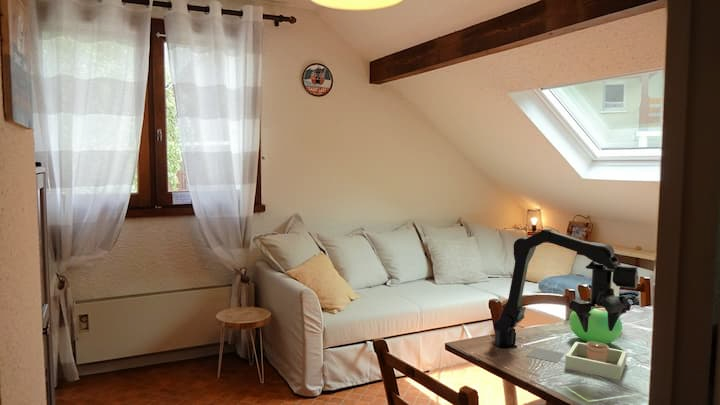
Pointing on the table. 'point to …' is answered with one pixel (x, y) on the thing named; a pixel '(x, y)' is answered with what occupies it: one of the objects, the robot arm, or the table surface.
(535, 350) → the slate pad
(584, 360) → the pale green square tray
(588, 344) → the terracotta pot
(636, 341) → the table surface
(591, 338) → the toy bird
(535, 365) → the table surface
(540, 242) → the robot arm
